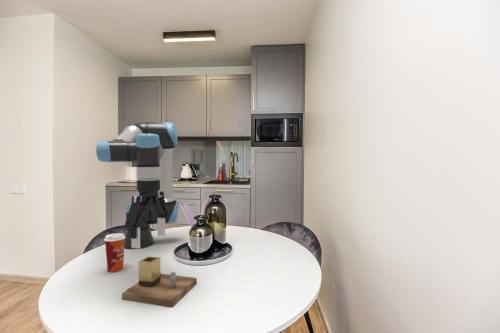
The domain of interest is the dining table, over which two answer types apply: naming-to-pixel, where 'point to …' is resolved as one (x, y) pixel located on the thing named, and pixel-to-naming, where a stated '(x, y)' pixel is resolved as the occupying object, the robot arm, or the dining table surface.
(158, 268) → the sleeve
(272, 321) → the dining table surface
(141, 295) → the pin board
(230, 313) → the dining table surface
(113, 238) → the paper cup
